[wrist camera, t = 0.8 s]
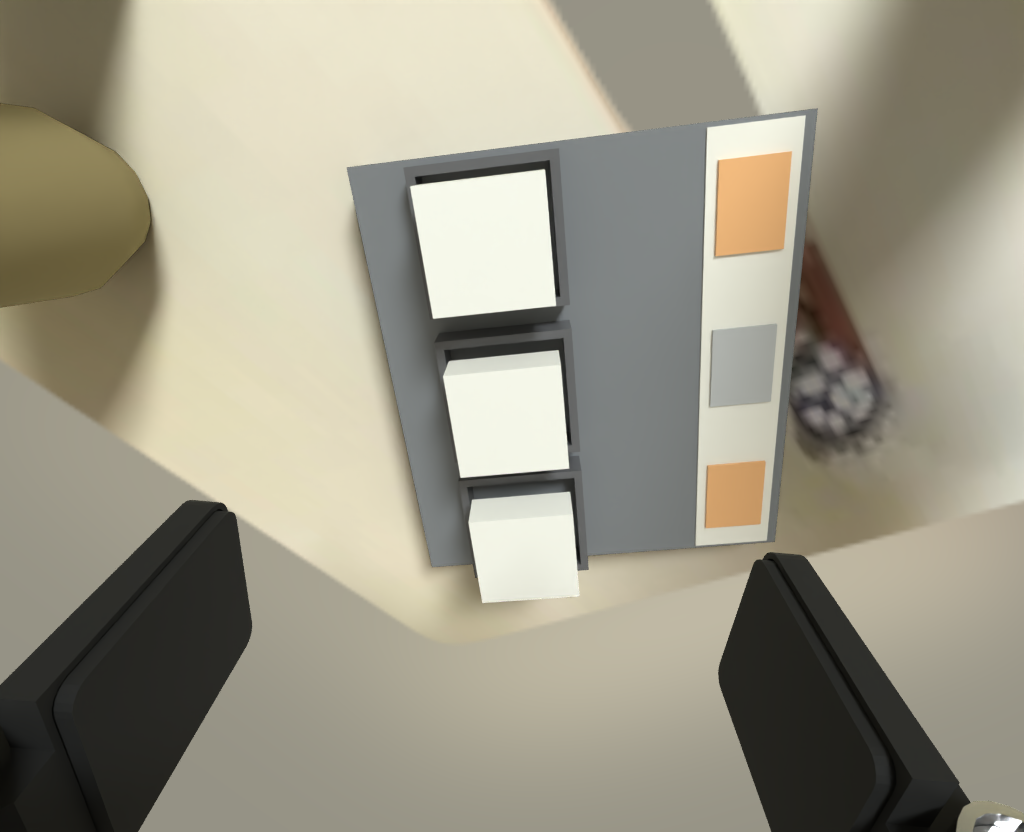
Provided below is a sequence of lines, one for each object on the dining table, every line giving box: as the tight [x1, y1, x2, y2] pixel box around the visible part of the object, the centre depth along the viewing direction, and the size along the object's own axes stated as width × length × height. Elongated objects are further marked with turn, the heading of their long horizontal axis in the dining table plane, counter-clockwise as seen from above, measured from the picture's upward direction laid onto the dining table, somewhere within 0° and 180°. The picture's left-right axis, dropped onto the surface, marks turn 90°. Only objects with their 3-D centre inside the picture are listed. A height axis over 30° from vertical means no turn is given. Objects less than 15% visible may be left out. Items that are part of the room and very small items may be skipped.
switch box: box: [347, 108, 818, 578], centre depth 29 cm, size 20×22×5 cm
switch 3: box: [468, 492, 579, 603], centre depth 29 cm, size 5×5×2 cm
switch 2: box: [443, 350, 569, 478], centre depth 25 cm, size 5×5×2 cm
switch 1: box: [410, 169, 556, 319], centre depth 22 cm, size 5×5×2 cm
